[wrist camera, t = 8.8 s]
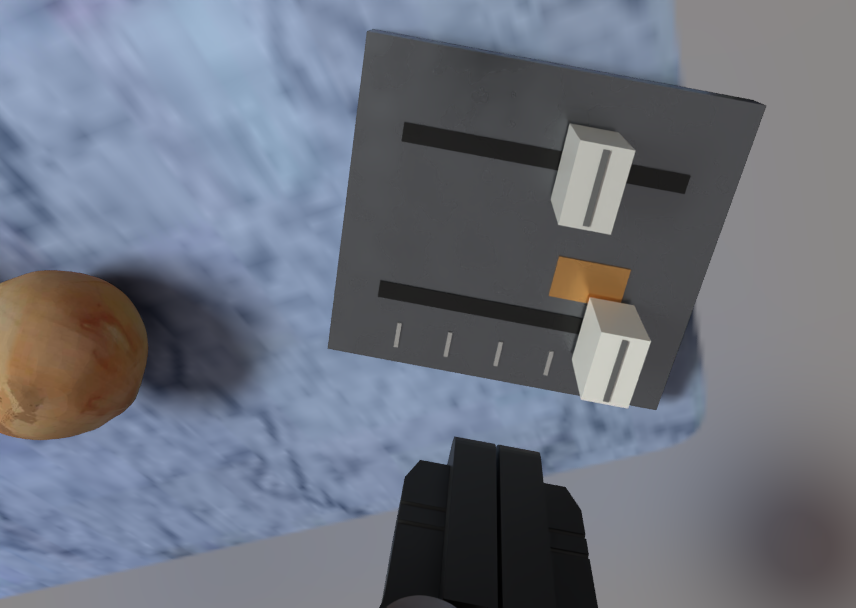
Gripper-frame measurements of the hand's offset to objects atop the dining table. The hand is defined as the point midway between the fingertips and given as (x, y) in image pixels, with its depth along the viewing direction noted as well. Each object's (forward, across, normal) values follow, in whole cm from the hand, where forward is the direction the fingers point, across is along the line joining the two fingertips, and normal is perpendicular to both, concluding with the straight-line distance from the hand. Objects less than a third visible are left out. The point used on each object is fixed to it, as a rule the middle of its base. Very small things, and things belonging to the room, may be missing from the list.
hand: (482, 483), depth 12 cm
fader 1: (+26, -5, 0) cm, 27 cm away
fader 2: (+26, -8, +9) cm, 29 cm away
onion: (+29, +22, +15) cm, 39 cm away
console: (+29, -3, +4) cm, 29 cm away
